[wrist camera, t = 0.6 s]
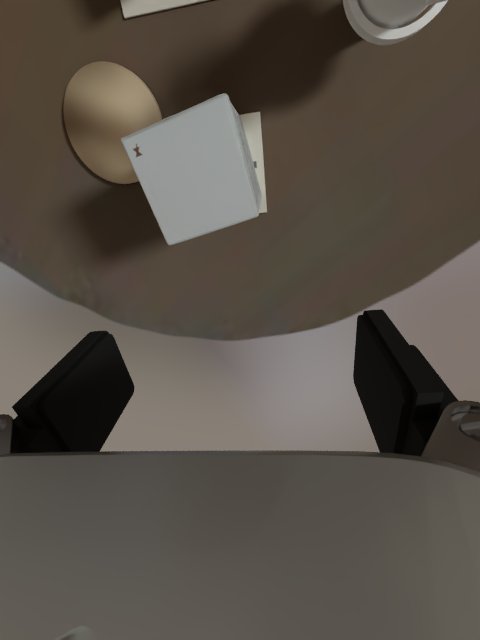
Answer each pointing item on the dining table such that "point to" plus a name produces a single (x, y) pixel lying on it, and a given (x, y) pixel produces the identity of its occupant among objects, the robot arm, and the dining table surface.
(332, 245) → the dining table surface
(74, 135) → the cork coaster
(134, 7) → the code tile
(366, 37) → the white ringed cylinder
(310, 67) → the dining table surface
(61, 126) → the dining table surface
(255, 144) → the code tile
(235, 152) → the supplement box
